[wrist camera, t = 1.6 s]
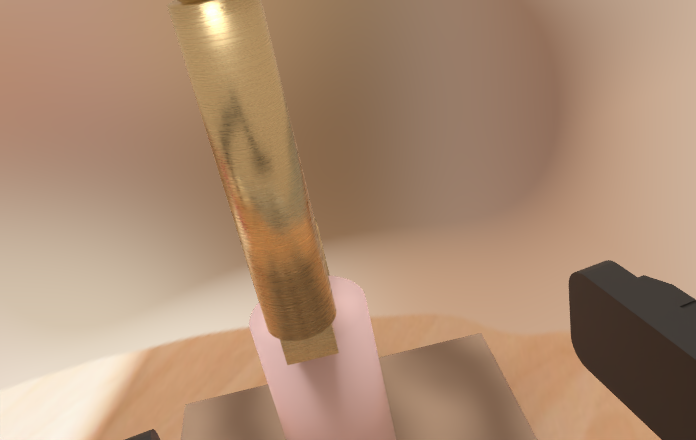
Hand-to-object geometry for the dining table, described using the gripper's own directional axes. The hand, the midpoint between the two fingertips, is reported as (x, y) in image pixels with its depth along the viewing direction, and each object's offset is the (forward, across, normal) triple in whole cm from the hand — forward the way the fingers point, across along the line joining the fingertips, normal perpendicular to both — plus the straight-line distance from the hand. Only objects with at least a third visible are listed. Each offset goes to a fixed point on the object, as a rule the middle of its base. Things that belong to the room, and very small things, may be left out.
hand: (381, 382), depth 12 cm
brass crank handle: (+17, -1, +19) cm, 25 cm away
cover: (+15, -1, +20) cm, 25 cm away
